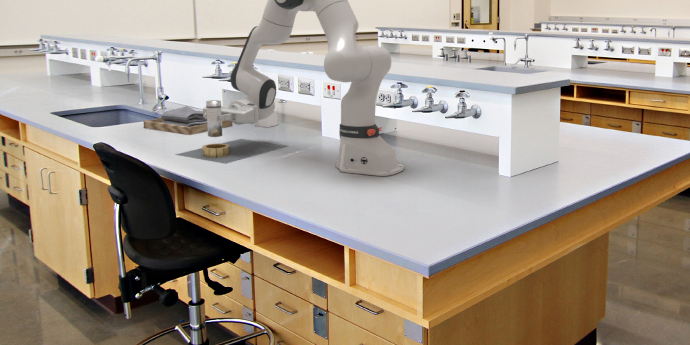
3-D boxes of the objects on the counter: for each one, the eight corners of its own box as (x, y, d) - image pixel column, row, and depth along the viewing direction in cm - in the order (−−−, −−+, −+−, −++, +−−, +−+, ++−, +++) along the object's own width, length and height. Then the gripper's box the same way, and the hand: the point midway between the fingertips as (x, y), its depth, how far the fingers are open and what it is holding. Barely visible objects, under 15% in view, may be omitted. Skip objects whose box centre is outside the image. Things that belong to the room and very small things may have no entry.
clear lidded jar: (225, 135, 215) (224, 101, 212) (215, 137, 211) (213, 102, 208) (215, 133, 218) (213, 99, 215) (204, 135, 214) (202, 101, 211)
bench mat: (289, 147, 231) (289, 145, 231) (225, 165, 203) (225, 163, 203) (241, 140, 244) (241, 138, 244) (175, 156, 216) (175, 154, 216)
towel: (160, 128, 269) (159, 110, 267) (187, 122, 285) (186, 105, 283) (188, 131, 263) (187, 113, 261) (214, 124, 279) (213, 107, 277)
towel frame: (232, 125, 274) (232, 119, 274) (189, 134, 254) (189, 127, 253) (187, 119, 289) (187, 113, 289) (143, 127, 269) (143, 121, 268)
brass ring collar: (235, 153, 217) (234, 145, 217) (216, 158, 210) (216, 150, 209) (216, 150, 222) (215, 142, 222) (197, 155, 215) (196, 146, 214)
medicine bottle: (277, 125, 277) (277, 98, 274) (267, 127, 271) (266, 100, 268) (265, 123, 281) (264, 97, 278) (255, 126, 275) (254, 99, 272)
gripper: (218, 100, 228) (190, 105, 217) (260, 105, 217) (233, 110, 206) (219, 117, 230) (191, 123, 218) (261, 123, 219) (234, 129, 208)
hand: (212, 117), depth 212 cm, fingers closed on clear lidded jar, 5 cm apart
